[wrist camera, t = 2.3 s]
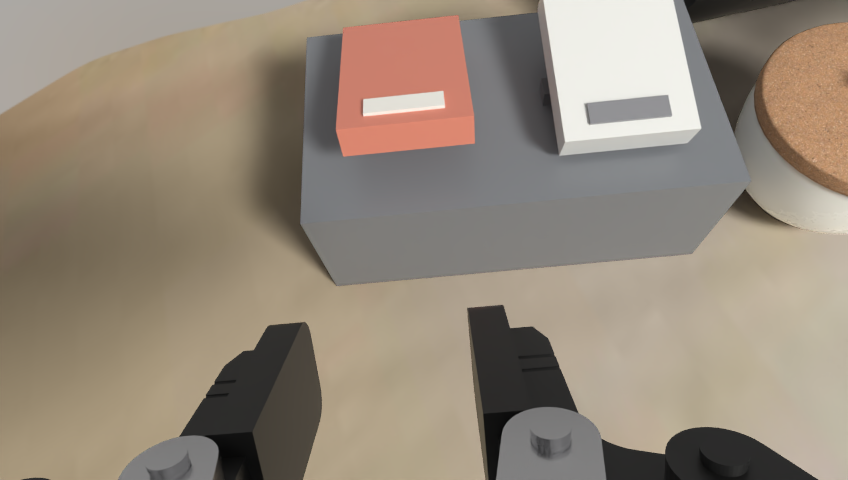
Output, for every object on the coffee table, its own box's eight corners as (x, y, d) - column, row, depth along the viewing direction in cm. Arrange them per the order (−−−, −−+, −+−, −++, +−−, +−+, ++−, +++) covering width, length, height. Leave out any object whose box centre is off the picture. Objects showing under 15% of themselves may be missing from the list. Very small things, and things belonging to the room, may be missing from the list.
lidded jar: (915, 271, 32) (1074, 183, 23) (714, 256, 33) (795, 166, 25) (874, 117, 36) (995, -3, 28) (699, 109, 38) (763, -8, 29)
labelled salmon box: (343, 156, 26) (335, 126, 25) (349, 54, 31) (342, 24, 30) (474, 143, 26) (474, 112, 24) (459, 42, 31) (458, 12, 29)
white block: (559, 155, 27) (565, 140, 25) (537, 9, 29) (542, -14, 27) (687, 143, 27) (702, 126, 25) (656, -4, 29) (669, -28, 27)
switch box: (336, 286, 34) (294, 214, 26) (337, 125, 39) (302, 25, 32) (691, 253, 33) (760, 170, 25) (643, 93, 39) (687, -17, 31)
